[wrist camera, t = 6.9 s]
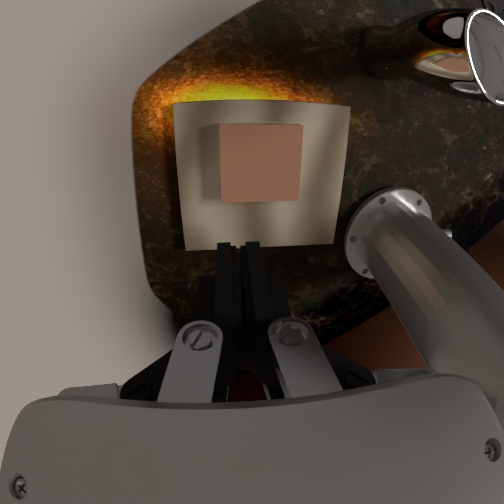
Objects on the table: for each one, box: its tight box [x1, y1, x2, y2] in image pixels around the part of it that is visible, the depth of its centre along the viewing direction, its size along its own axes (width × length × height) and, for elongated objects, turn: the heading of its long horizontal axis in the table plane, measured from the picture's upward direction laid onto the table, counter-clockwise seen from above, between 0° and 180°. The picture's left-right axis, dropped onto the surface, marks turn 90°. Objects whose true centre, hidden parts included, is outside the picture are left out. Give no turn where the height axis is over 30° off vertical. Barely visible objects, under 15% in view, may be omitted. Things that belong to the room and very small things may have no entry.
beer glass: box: [358, 8, 504, 106], centre depth 15 cm, size 7×7×15 cm
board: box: [173, 100, 350, 251], centre depth 27 cm, size 16×15×1 cm
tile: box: [219, 122, 304, 203], centre depth 25 cm, size 2×7×7 cm
